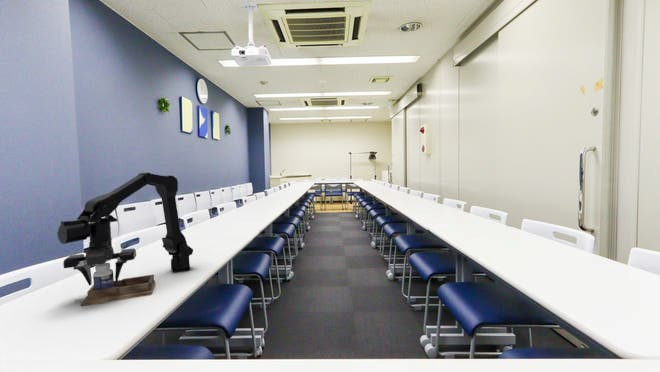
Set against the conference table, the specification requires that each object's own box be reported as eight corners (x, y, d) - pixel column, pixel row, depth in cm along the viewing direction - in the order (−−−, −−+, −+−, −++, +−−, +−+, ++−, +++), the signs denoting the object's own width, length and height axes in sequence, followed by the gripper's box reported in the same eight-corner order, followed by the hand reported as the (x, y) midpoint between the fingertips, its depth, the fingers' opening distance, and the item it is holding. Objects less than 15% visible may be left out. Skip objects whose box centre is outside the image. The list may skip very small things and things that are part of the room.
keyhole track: (155, 282, 113) (154, 273, 113) (151, 294, 102) (151, 284, 102) (92, 292, 105) (91, 282, 105) (81, 306, 94) (80, 295, 94)
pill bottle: (103, 297, 98) (101, 267, 98) (90, 295, 100) (88, 266, 99) (118, 290, 104) (116, 262, 103) (106, 289, 105) (104, 261, 104)
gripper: (54, 245, 89) (58, 297, 90) (129, 238, 97) (132, 286, 98) (68, 238, 99) (71, 284, 100) (135, 232, 107) (137, 275, 108)
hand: (103, 282), depth 101 cm, fingers open, 7 cm apart
